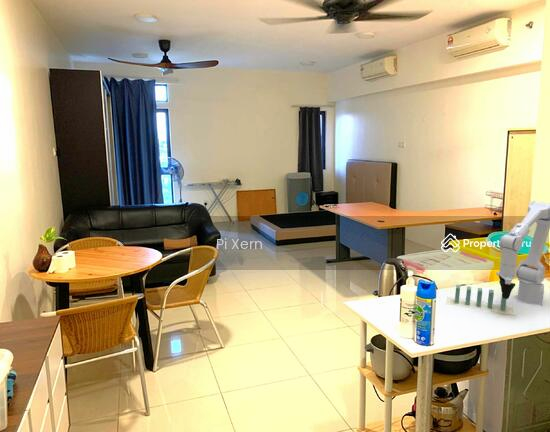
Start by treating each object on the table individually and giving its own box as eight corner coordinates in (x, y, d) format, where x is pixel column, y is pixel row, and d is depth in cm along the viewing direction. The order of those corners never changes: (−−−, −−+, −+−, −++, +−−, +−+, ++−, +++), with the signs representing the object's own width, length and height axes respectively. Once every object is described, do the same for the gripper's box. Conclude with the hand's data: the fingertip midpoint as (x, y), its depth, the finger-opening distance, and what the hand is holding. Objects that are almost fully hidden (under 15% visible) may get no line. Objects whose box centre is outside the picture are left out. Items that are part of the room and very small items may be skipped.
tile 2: (491, 305, 178) (493, 290, 177) (492, 308, 175) (493, 293, 173) (487, 304, 179) (489, 289, 178) (487, 308, 175) (489, 292, 174)
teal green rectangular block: (504, 307, 176) (506, 291, 175) (505, 311, 173) (507, 295, 171) (500, 306, 177) (502, 291, 175) (500, 310, 173) (502, 294, 172)
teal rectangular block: (480, 303, 180) (482, 288, 179) (480, 307, 176) (482, 291, 175) (476, 303, 181) (478, 287, 179) (476, 306, 177) (478, 290, 176)
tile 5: (458, 300, 184) (460, 285, 182) (458, 303, 180) (460, 288, 179) (455, 299, 184) (456, 284, 183) (454, 303, 181) (456, 287, 179)
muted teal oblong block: (469, 302, 182) (471, 286, 180) (469, 305, 178) (471, 289, 177) (465, 301, 183) (467, 286, 181) (465, 304, 179) (466, 289, 178)
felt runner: (513, 307, 177) (513, 306, 177) (514, 315, 169) (514, 314, 169) (447, 297, 188) (447, 296, 188) (446, 304, 180) (446, 303, 180)
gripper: (496, 257, 179) (493, 287, 182) (498, 267, 166) (494, 299, 169) (515, 259, 176) (511, 290, 179) (518, 270, 163) (514, 302, 166)
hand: (504, 295), depth 174 cm, fingers open, 7 cm apart
